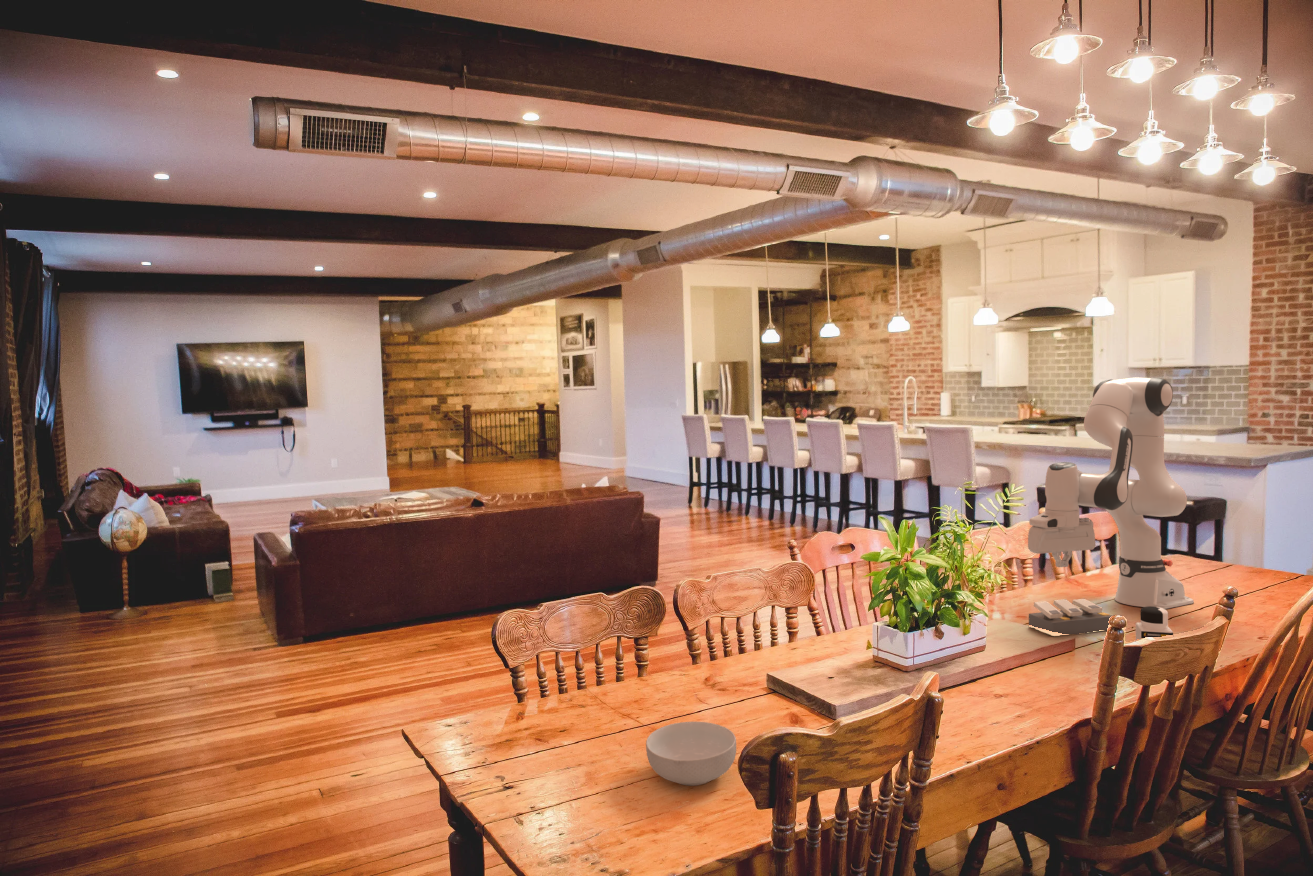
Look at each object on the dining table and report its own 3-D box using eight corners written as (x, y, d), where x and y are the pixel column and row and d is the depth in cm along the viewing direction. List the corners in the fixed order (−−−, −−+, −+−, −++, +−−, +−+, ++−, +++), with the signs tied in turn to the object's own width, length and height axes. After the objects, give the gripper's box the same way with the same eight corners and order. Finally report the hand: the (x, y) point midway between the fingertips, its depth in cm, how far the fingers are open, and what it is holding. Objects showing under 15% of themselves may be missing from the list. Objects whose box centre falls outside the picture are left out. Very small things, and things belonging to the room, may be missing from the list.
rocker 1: (1045, 604, 235) (1046, 600, 234) (1062, 617, 228) (1063, 613, 228) (1033, 606, 234) (1034, 601, 234) (1049, 618, 227) (1050, 614, 227)
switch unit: (1087, 620, 240) (1087, 603, 240) (1113, 630, 230) (1113, 612, 230) (1028, 627, 236) (1028, 609, 235) (1052, 637, 226) (1052, 618, 226)
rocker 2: (1064, 602, 236) (1065, 598, 236) (1081, 615, 230) (1082, 611, 229) (1053, 604, 235) (1053, 599, 235) (1069, 616, 229) (1070, 612, 228)
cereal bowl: (680, 748, 163) (679, 714, 162) (753, 769, 153) (752, 732, 153) (628, 783, 149) (627, 745, 149) (705, 807, 139) (704, 767, 139)
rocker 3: (1084, 602, 238) (1084, 598, 238) (1102, 611, 231) (1102, 607, 231) (1072, 603, 237) (1072, 599, 237) (1090, 613, 230) (1090, 608, 230)
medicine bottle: (1141, 657, 207) (1141, 610, 207) (1135, 648, 214) (1135, 603, 213) (1173, 659, 205) (1173, 612, 204) (1166, 650, 212) (1166, 605, 211)
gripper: (1084, 515, 239) (1084, 562, 240) (1024, 519, 234) (1024, 567, 235) (1101, 518, 233) (1100, 566, 233) (1039, 522, 228) (1039, 571, 229)
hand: (1062, 566), depth 234 cm, fingers closed
